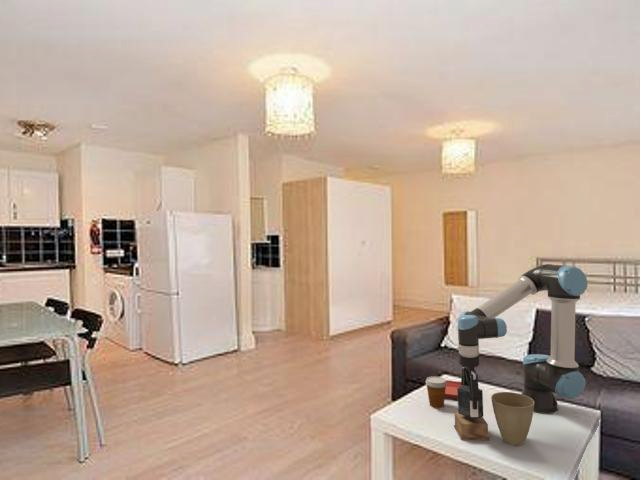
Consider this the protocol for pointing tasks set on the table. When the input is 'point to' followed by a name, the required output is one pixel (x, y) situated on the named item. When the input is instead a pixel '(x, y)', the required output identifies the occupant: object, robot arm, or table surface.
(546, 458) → the table surface
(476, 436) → the pedestal
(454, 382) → the plant saucer
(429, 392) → the disposable coffee cup
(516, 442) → the plant pot
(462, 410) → the box
